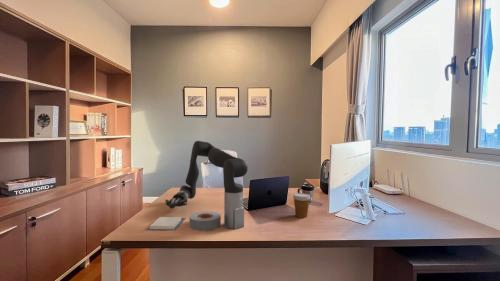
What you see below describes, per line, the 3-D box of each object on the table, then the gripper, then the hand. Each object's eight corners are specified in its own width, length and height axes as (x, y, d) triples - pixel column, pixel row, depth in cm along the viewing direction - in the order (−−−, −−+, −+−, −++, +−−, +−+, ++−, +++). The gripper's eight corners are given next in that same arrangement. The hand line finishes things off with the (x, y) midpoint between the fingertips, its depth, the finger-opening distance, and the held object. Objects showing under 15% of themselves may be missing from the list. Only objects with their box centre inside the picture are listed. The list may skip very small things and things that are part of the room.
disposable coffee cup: (290, 217, 143) (290, 195, 143) (295, 212, 152) (296, 192, 151) (307, 219, 139) (307, 197, 138) (311, 215, 147) (312, 194, 147)
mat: (186, 218, 139) (186, 217, 139) (176, 231, 121) (176, 230, 121) (160, 218, 139) (160, 217, 139) (146, 230, 121) (146, 229, 121)
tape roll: (187, 222, 133) (187, 212, 133) (216, 219, 139) (216, 209, 139) (191, 233, 119) (191, 222, 119) (224, 229, 125) (224, 218, 124)
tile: (181, 217, 134) (173, 226, 121) (181, 220, 135) (173, 229, 122) (160, 216, 135) (150, 225, 122) (160, 220, 135) (150, 229, 122)
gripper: (169, 191, 153) (158, 199, 136) (191, 192, 153) (183, 199, 136) (169, 204, 154) (158, 213, 136) (191, 204, 154) (183, 213, 136)
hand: (171, 206), depth 136 cm, fingers closed
